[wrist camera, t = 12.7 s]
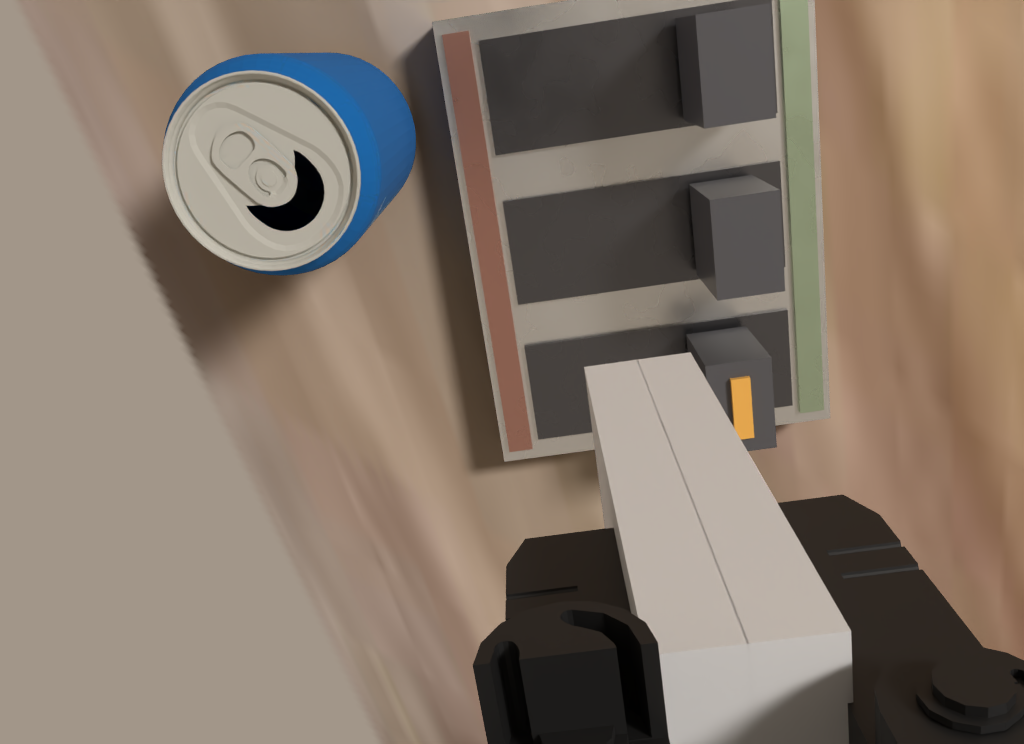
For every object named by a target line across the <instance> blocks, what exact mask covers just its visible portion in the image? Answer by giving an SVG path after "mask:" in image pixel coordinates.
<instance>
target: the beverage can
mask: <svg viewBox="0 0 1024 744" xmlns="http://www.w3.org/2000/svg"><path fill="white" fill-rule="evenodd" d="M415 150H416V134H415V126H414V122H413V118H412V114H411V112H410V109H409V106H408V104H407V102H406V100H405V99H404V97H403V95H402V93H401V92H400V91H399V89H398V88H397V86H396V85H395V84H394V83H393V82H392V81H391V80H390V79H389V77H388V76H386V75H385V74H384V73H383V72H382V71H380V70H379V69H378V68H376V67H375V66H373V65H371V64H370V63H368V62H366V61H364V60H362V59H359V58H356V57H353V56H350V55H345V54H340V53H270V54H251V55H244V56H240V57H236V58H232V59H229V60H227V61H224V62H222V63H219V64H217V65H216V66H214V67H212V68H210V69H209V70H207V71H205V72H204V73H203V74H202V75H201V76H199V77H198V78H197V79H196V80H194V82H193V83H192V84H191V85H190V86H189V87H188V88H187V89H186V90H185V92H184V93H183V94H182V96H181V97H180V99H179V100H178V102H177V103H176V105H175V107H174V109H173V112H172V114H171V116H170V119H169V122H168V125H167V128H166V132H165V138H164V143H163V150H162V171H163V179H164V184H165V188H166V192H167V194H168V197H169V200H170V203H171V205H172V207H173V209H174V211H175V213H176V215H177V216H178V218H179V219H180V221H181V223H182V224H183V226H184V227H185V228H186V229H187V230H188V232H189V233H190V234H191V235H192V236H193V237H194V238H195V239H196V240H197V241H198V242H199V243H200V244H201V245H202V246H204V247H205V248H206V249H208V250H209V251H210V252H211V253H213V254H215V255H216V256H218V257H220V258H222V259H223V260H226V261H227V262H229V263H231V264H233V265H236V266H238V267H240V268H243V269H246V270H249V271H253V272H256V273H262V274H268V275H294V274H301V273H305V272H310V271H313V270H316V269H318V268H321V267H324V266H326V265H327V264H329V263H331V262H333V261H335V260H336V259H338V258H339V257H341V256H342V255H343V254H345V253H346V252H347V251H348V250H349V249H350V248H351V247H352V246H353V245H354V244H355V243H356V242H357V241H358V240H359V239H360V238H361V236H362V235H363V234H364V233H365V232H366V230H367V229H368V228H369V227H370V226H371V224H372V223H373V222H374V221H375V220H376V218H377V217H378V216H379V215H380V214H381V213H382V211H383V210H384V209H385V208H386V207H387V205H388V204H389V203H390V202H391V201H392V199H393V198H394V197H395V196H396V195H397V193H398V192H399V191H400V190H401V188H402V187H403V185H404V183H405V182H406V180H407V178H408V176H409V174H410V171H411V169H412V165H413V162H414V157H415Z"/></svg>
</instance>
